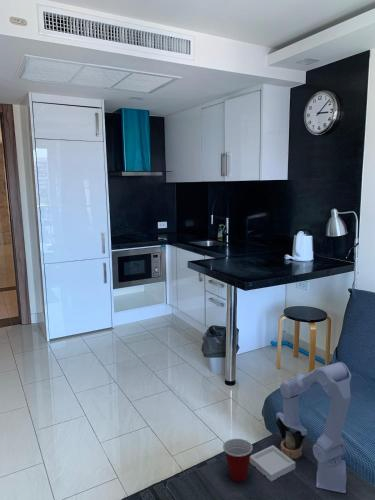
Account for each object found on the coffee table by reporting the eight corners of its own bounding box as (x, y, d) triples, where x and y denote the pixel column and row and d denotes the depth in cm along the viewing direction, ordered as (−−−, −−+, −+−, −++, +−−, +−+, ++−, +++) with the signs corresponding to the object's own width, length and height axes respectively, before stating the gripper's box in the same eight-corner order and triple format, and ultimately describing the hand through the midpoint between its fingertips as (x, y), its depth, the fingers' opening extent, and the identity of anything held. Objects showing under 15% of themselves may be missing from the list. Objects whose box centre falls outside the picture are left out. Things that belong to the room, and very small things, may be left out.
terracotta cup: (302, 446, 153) (302, 440, 152) (301, 460, 145) (301, 453, 145) (282, 443, 155) (282, 437, 155) (279, 456, 148) (279, 449, 147)
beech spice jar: (296, 449, 151) (296, 428, 150) (296, 455, 148) (296, 434, 146) (286, 447, 153) (286, 426, 152) (285, 453, 149) (285, 432, 148)
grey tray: (273, 450, 151) (272, 445, 151) (295, 468, 141) (295, 462, 140) (249, 462, 145) (249, 456, 145) (271, 481, 135) (271, 475, 134)
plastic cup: (250, 464, 144) (249, 435, 142) (256, 486, 133) (255, 454, 131) (222, 466, 144) (221, 437, 142) (225, 487, 133) (224, 456, 131)
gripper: (312, 416, 144) (312, 449, 145) (285, 399, 156) (285, 430, 158) (299, 422, 140) (299, 455, 142) (272, 404, 153) (272, 435, 154)
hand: (291, 442), depth 150 cm, fingers open, 7 cm apart
